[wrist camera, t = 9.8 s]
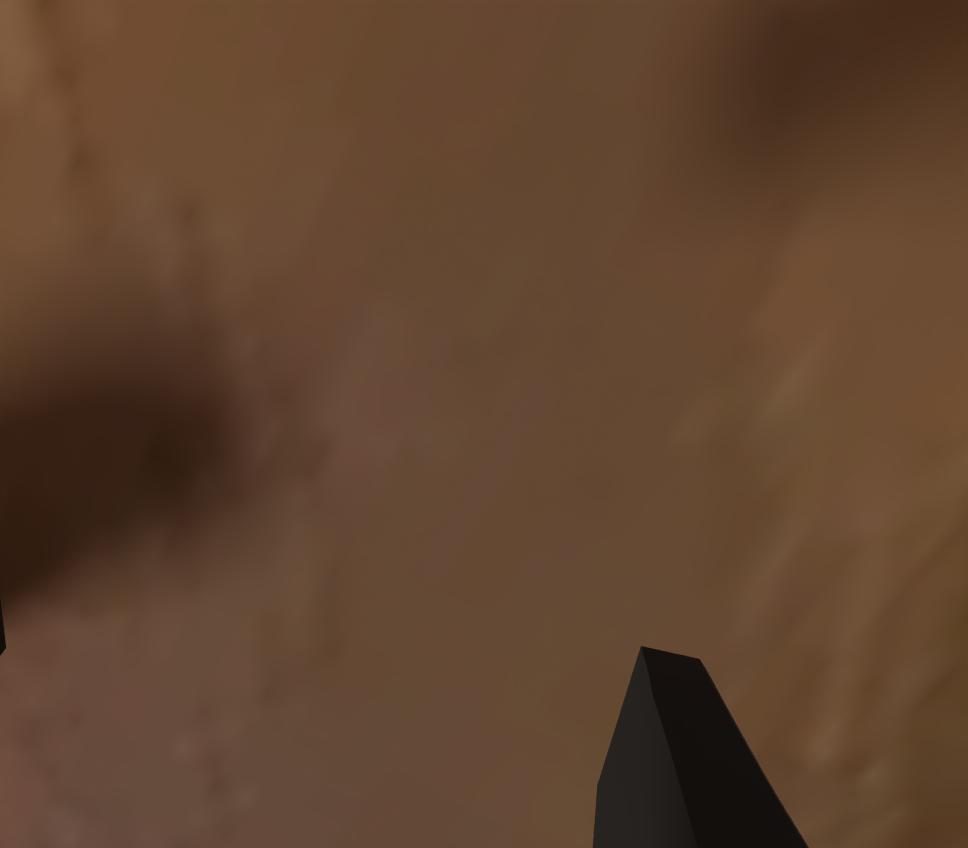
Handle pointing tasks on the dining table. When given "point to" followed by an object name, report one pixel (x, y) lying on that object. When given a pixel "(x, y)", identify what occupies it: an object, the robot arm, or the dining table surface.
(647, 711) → the robot arm
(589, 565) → the dining table surface
